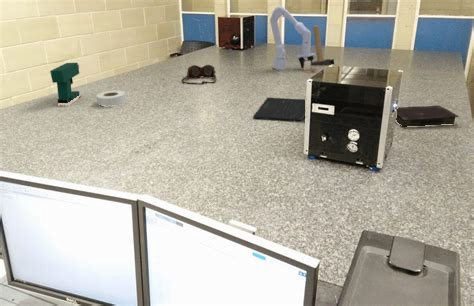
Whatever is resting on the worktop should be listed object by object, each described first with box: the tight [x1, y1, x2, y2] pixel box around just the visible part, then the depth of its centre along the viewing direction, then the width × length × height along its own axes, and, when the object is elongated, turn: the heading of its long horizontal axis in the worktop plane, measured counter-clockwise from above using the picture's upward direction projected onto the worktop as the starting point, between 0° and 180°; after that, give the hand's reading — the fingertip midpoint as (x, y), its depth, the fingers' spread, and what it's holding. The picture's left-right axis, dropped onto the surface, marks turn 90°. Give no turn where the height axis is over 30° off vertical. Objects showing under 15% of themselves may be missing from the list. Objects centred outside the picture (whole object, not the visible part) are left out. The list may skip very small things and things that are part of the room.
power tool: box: [49, 62, 81, 104], centre depth 236 cm, size 32×7×20 cm, turn 178°
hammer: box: [311, 25, 335, 67], centre depth 295 cm, size 20×5×30 cm, turn 79°
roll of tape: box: [96, 90, 127, 106], centre depth 228 cm, size 16×16×6 cm
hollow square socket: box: [300, 59, 312, 70], centre depth 287 cm, size 5×5×6 cm
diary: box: [396, 105, 460, 128], centre depth 187 cm, size 19×25×5 cm
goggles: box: [181, 64, 217, 85], centre depth 270 cm, size 24×24×10 cm
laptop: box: [252, 97, 306, 122], centre depth 202 cm, size 33×38×19 cm
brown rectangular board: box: [296, 66, 321, 75], centre depth 284 cm, size 18×12×4 cm, turn 23°
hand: (305, 67), depth 288 cm, fingers closed on hollow square socket, 5 cm apart
